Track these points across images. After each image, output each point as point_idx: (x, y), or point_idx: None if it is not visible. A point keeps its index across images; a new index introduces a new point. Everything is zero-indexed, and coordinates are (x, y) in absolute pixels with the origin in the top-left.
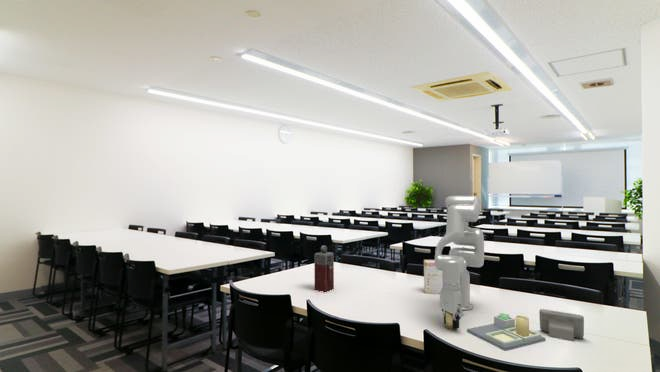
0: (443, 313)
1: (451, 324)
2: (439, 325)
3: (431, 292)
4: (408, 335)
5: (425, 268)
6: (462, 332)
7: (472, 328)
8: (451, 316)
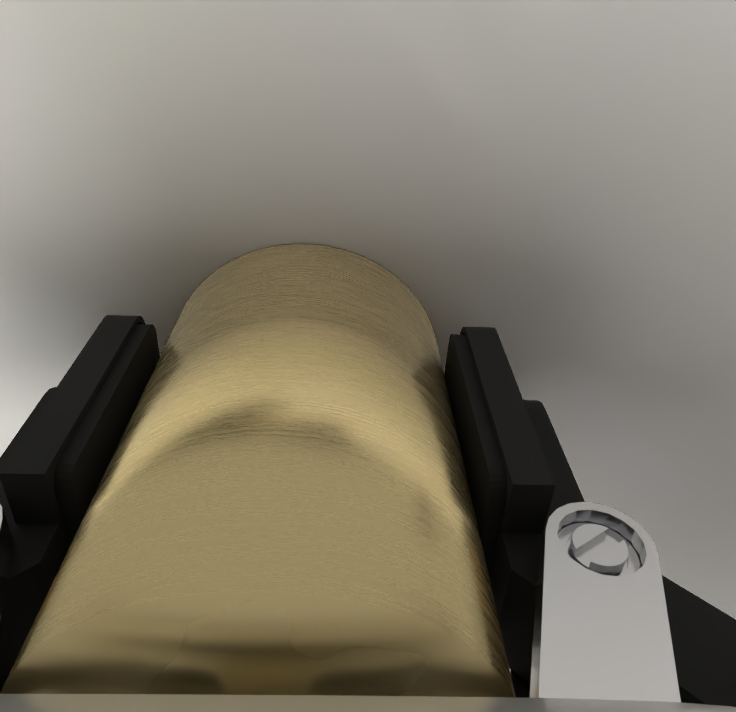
0: (625, 555)
1: (164, 360)
2: (577, 224)
3: None
4: None
5: None
6: (6, 397)
7: None
8: (67, 566)
